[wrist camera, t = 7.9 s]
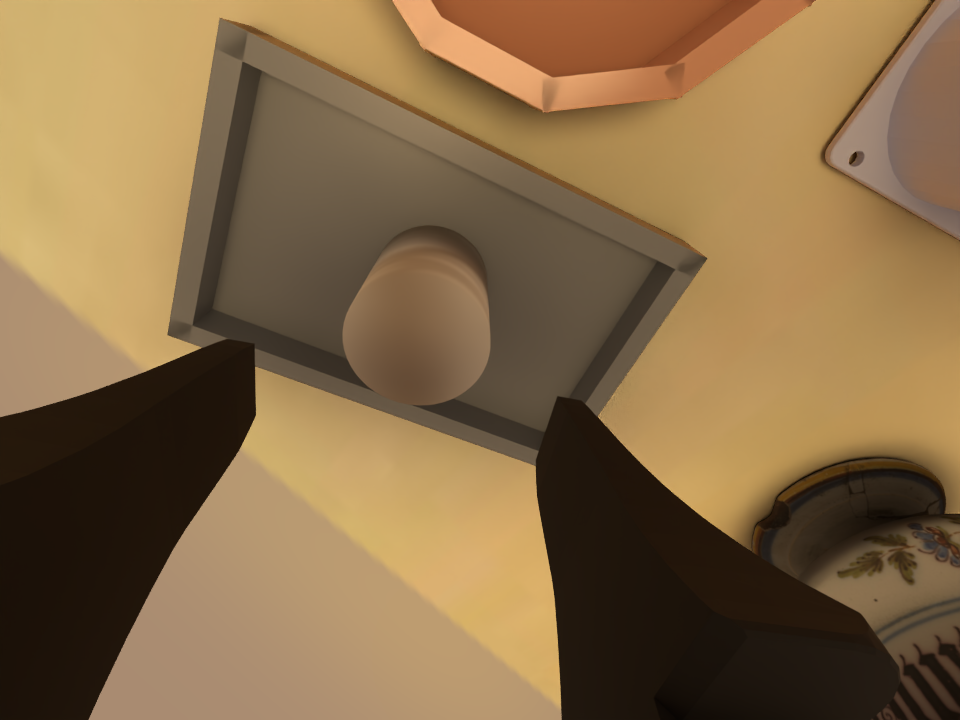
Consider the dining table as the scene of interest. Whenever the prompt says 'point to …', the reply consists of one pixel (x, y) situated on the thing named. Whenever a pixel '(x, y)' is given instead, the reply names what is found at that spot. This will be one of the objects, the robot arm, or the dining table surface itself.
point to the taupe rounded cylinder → (421, 318)
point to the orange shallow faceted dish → (592, 44)
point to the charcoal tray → (386, 213)
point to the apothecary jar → (881, 568)
